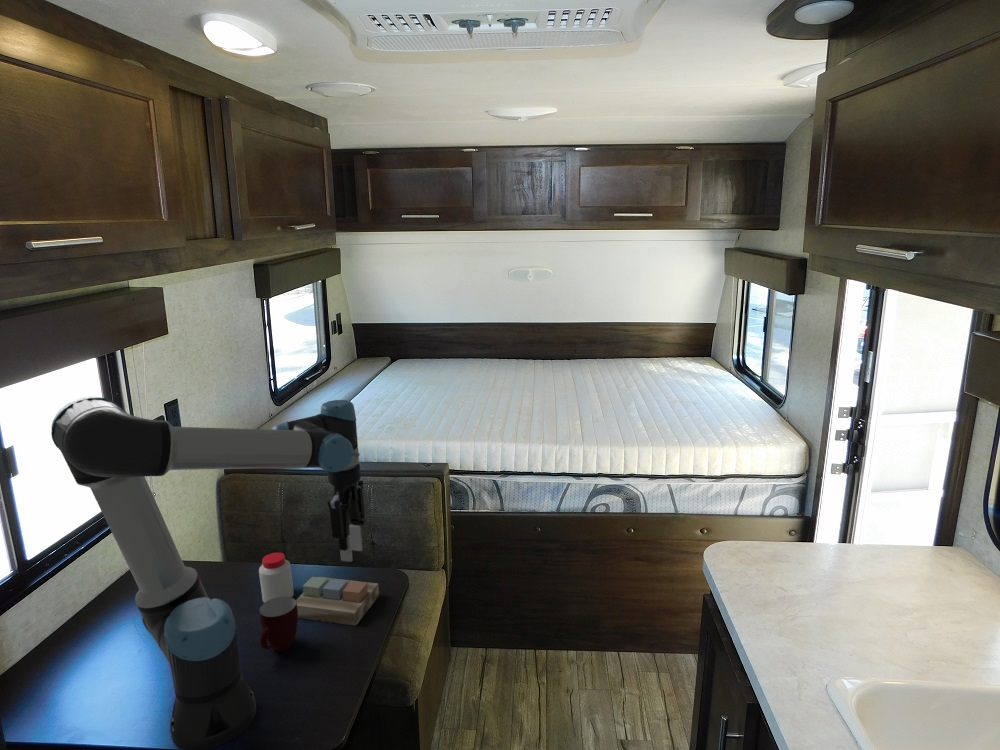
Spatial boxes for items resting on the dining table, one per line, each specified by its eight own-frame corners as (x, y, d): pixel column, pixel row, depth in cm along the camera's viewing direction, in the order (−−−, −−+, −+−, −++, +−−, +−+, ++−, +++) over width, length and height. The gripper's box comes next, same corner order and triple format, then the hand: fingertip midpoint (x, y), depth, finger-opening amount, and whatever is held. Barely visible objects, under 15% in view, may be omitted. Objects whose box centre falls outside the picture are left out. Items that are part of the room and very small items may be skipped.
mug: (285, 665, 138) (280, 625, 135) (251, 663, 139) (245, 622, 137) (307, 635, 148) (302, 597, 146) (275, 633, 149) (270, 595, 147)
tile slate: (339, 601, 156) (338, 590, 155) (323, 599, 157) (322, 588, 156) (348, 591, 160) (347, 580, 159) (332, 589, 161) (331, 578, 160)
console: (355, 625, 151) (354, 612, 150) (292, 617, 155) (291, 604, 154) (379, 595, 163) (378, 583, 162) (320, 588, 167) (318, 576, 167)
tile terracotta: (360, 603, 155) (359, 592, 154) (343, 601, 156) (342, 590, 155) (368, 593, 159) (367, 583, 158) (352, 591, 160) (351, 581, 159)
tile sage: (319, 598, 157) (318, 587, 157) (303, 596, 158) (302, 586, 158) (328, 589, 161) (327, 578, 161) (313, 587, 163) (312, 576, 162)
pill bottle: (261, 592, 166) (256, 554, 164) (291, 585, 170) (287, 547, 167) (263, 607, 160) (258, 568, 157) (295, 599, 163) (291, 560, 160)
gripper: (339, 480, 140) (348, 575, 145) (374, 453, 157) (381, 539, 162) (309, 478, 142) (319, 572, 147) (346, 451, 159) (354, 537, 164)
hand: (351, 554), depth 155 cm, fingers open, 4 cm apart
